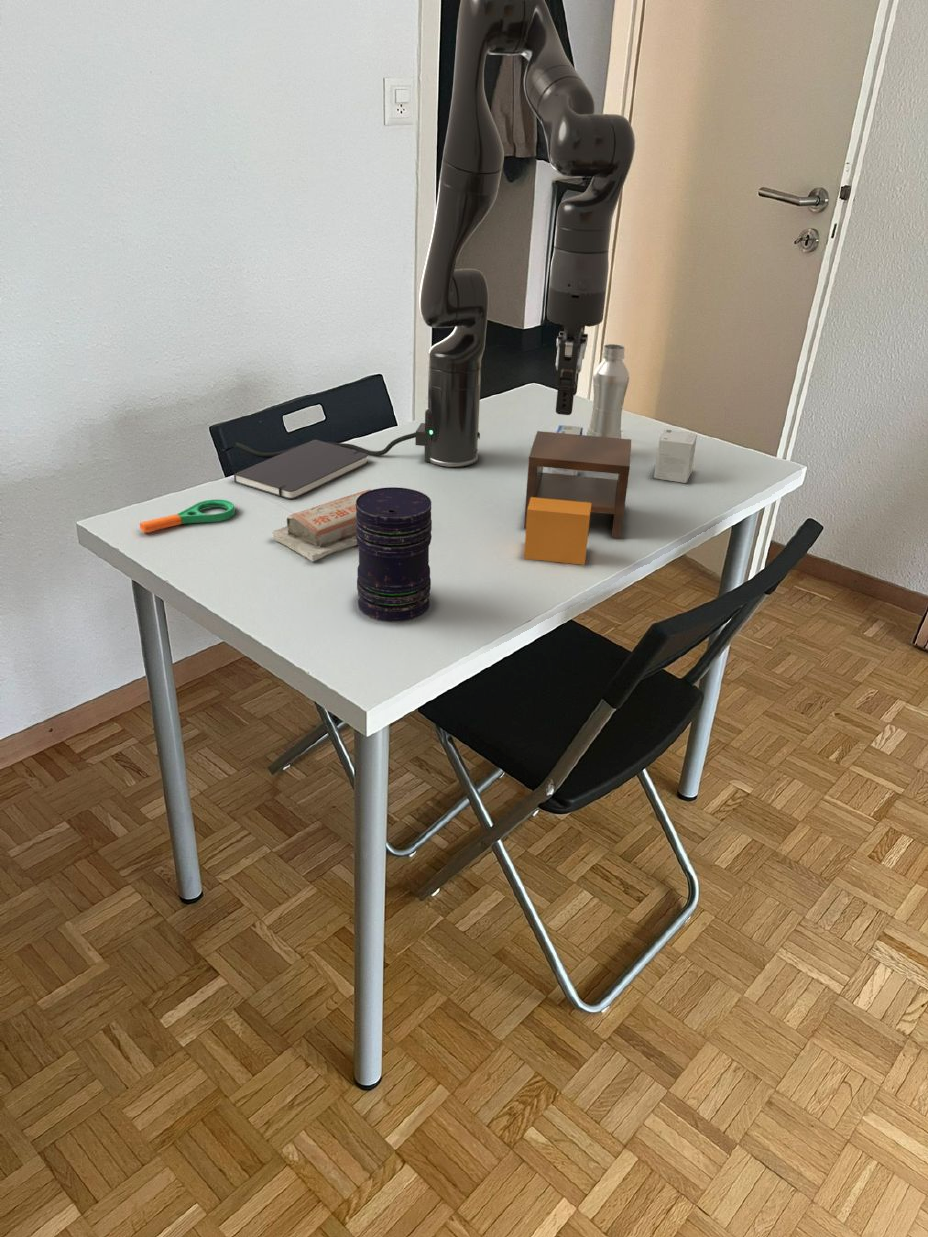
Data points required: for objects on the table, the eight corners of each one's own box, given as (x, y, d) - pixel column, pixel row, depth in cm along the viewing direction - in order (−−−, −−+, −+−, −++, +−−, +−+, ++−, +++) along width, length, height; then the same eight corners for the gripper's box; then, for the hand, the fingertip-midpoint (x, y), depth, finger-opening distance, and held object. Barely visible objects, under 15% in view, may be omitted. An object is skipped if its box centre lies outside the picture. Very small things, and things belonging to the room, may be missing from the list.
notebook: (315, 447, 182) (234, 482, 166) (314, 439, 181) (233, 473, 165) (369, 462, 176) (291, 500, 160) (369, 454, 175) (291, 491, 160)
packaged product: (363, 481, 156) (405, 500, 150) (364, 509, 158) (405, 529, 152) (269, 511, 145) (311, 533, 139) (272, 540, 147) (312, 564, 141)
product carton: (687, 483, 172) (693, 444, 169) (652, 478, 174) (658, 439, 170) (691, 472, 177) (698, 433, 174) (658, 467, 179) (663, 428, 175)
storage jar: (362, 584, 136) (360, 485, 129) (432, 588, 136) (434, 488, 129) (352, 621, 128) (350, 516, 120) (427, 624, 128) (429, 520, 120)
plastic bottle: (594, 444, 188) (606, 340, 178) (626, 452, 185) (639, 346, 175) (578, 453, 184) (588, 346, 173) (609, 462, 180) (622, 354, 170)
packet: (523, 558, 145) (527, 509, 141) (527, 545, 149) (530, 496, 145) (584, 565, 144) (589, 515, 140) (586, 551, 148) (591, 502, 144)
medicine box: (574, 489, 168) (579, 441, 164) (548, 486, 169) (552, 439, 165) (578, 472, 175) (583, 426, 171) (554, 470, 176) (558, 423, 171)
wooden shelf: (523, 528, 154) (528, 456, 148) (532, 499, 164) (537, 430, 158) (620, 538, 152) (629, 466, 146) (622, 508, 162) (631, 439, 156)
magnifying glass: (223, 502, 159) (222, 493, 158) (242, 515, 155) (241, 505, 154) (134, 527, 150) (132, 516, 149) (152, 540, 146) (150, 530, 145)
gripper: (554, 271, 135) (544, 386, 143) (543, 294, 123) (533, 418, 131) (609, 275, 134) (596, 390, 142) (603, 298, 122) (589, 423, 130)
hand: (566, 403), depth 137 cm, fingers open, 8 cm apart
